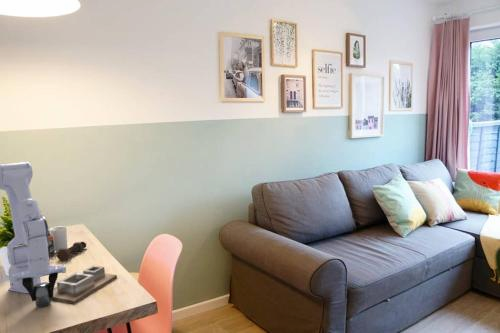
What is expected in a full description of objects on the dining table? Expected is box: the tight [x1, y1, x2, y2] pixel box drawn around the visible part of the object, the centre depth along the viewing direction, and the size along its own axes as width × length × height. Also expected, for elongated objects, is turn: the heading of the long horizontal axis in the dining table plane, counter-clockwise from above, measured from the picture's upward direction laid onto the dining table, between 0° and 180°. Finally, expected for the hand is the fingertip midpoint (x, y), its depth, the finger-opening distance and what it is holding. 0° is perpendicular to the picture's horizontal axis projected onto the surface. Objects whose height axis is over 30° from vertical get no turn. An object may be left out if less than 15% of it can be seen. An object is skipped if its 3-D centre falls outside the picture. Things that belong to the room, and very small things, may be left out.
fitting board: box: [51, 265, 118, 304], centre depth 131 cm, size 14×20×4 cm
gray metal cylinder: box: [34, 281, 52, 308], centre depth 119 cm, size 4×4×6 cm
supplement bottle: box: [45, 229, 56, 258], centre depth 161 cm, size 6×6×11 cm
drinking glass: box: [49, 225, 68, 251], centre depth 169 cm, size 7×7×10 cm
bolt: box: [56, 241, 87, 262], centre depth 163 cm, size 6×5×15 cm
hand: (42, 298), depth 119 cm, fingers closed on gray metal cylinder, 4 cm apart
